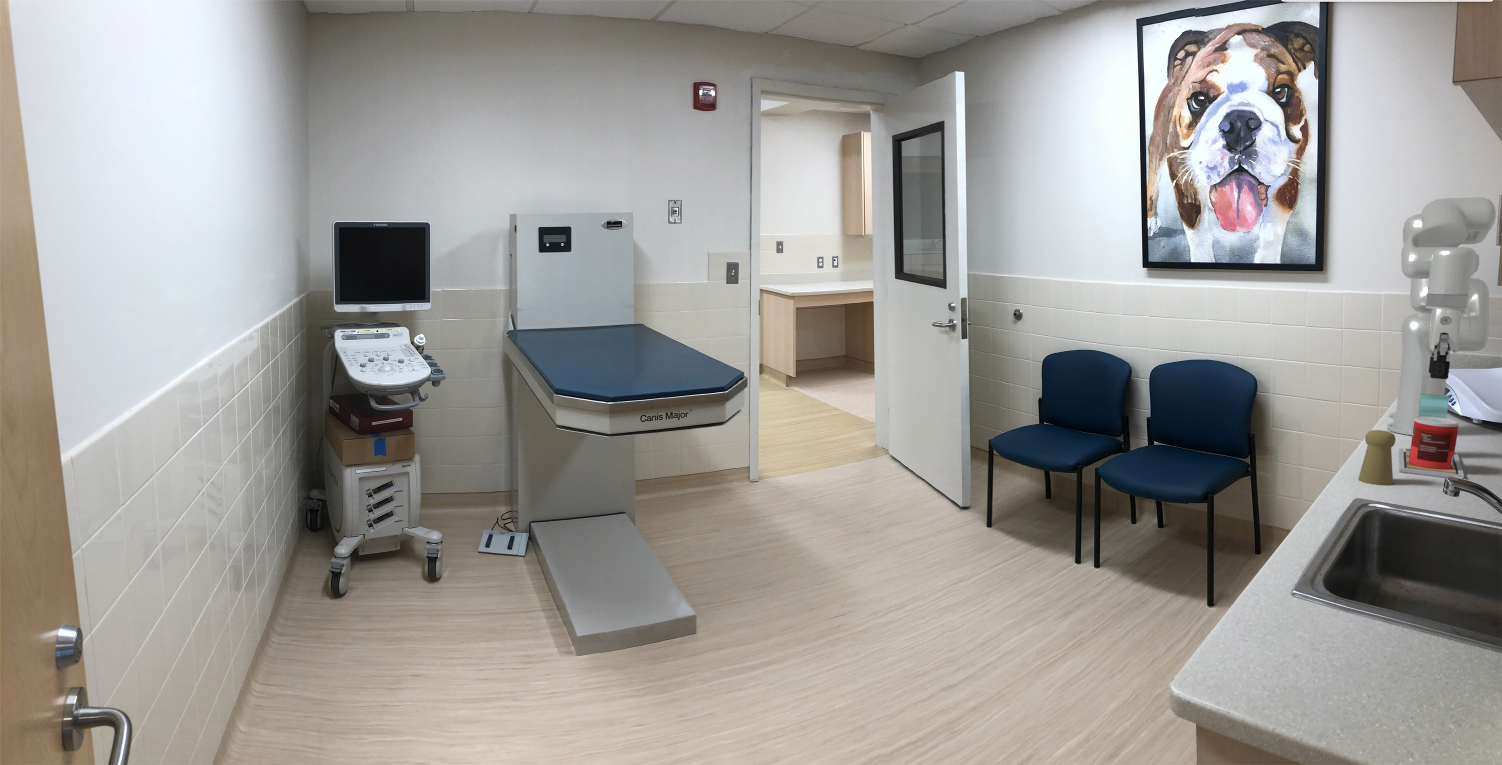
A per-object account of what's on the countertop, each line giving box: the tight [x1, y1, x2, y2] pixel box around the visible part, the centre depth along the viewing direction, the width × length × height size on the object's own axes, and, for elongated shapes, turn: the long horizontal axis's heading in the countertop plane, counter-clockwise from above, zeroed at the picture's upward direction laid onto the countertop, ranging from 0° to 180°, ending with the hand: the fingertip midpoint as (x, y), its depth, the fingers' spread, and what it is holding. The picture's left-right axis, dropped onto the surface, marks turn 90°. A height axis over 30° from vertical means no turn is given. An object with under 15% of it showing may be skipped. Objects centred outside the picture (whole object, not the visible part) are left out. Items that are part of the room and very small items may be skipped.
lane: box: [1398, 448, 1465, 479], centre depth 195 cm, size 22×11×1 cm, turn 143°
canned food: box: [1409, 416, 1459, 470], centre depth 190 cm, size 8×8×11 cm
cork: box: [1357, 429, 1396, 486], centre depth 182 cm, size 6×6×11 cm
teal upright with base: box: [1405, 393, 1456, 474], centre depth 195 cm, size 21×8×14 cm, turn 143°
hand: (1437, 376), depth 199 cm, fingers open, 9 cm apart
